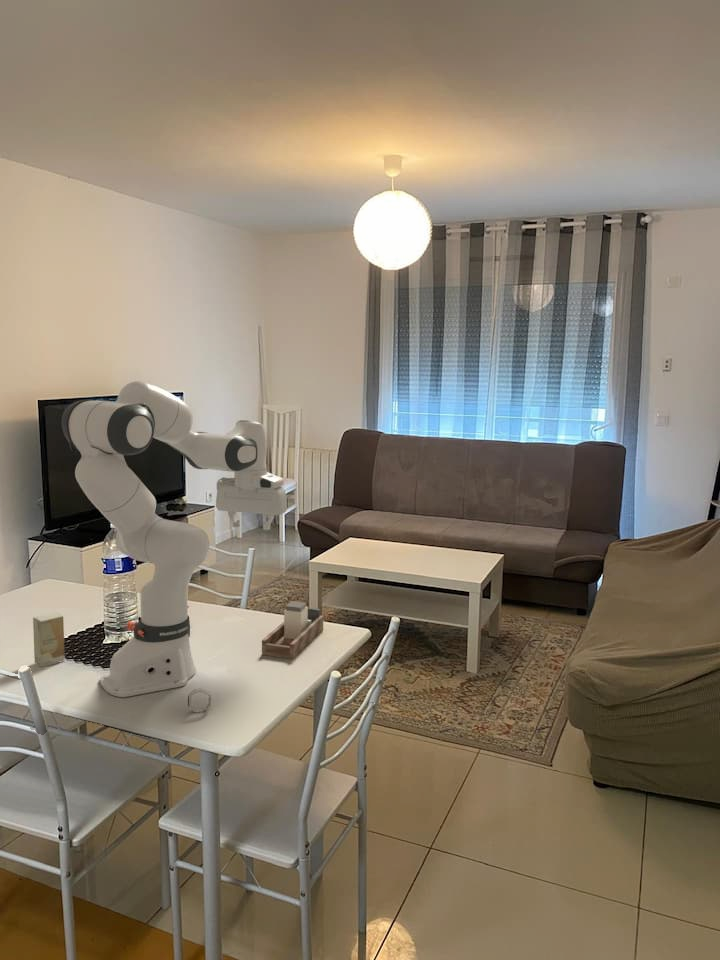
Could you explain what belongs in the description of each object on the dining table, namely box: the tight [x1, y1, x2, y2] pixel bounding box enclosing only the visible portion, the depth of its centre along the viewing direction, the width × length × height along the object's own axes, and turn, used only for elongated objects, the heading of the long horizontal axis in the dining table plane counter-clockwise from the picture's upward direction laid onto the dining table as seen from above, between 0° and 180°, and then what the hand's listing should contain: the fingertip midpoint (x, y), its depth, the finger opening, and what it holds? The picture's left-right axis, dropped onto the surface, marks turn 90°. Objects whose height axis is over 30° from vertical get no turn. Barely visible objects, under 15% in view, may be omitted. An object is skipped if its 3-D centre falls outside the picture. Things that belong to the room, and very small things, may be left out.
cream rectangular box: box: [283, 600, 309, 639], centre depth 201 cm, size 5×5×9 cm
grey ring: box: [187, 688, 212, 714], centre depth 159 cm, size 3×5×5 cm, turn 108°
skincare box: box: [32, 611, 66, 668], centre depth 183 cm, size 6×4×12 cm
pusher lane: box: [261, 607, 324, 660], centre depth 199 cm, size 23×9×6 cm, turn 163°
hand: (251, 528), depth 199 cm, fingers open, 8 cm apart
